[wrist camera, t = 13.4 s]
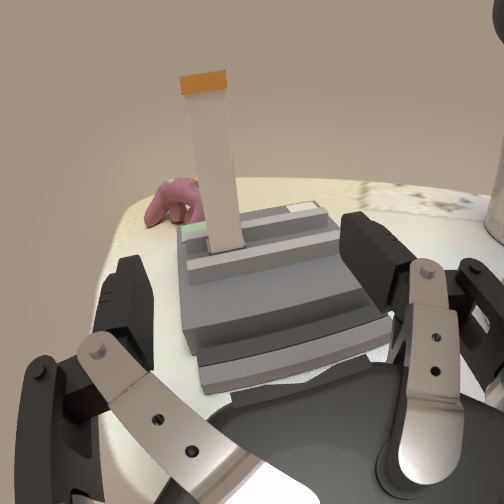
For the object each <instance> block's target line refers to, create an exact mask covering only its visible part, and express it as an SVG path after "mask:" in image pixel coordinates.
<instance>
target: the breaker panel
mask: <svg viewBox="0 0 504 504" xmlns="http://www.w3.org/2000/svg"><path fill="white" fill-rule="evenodd" d="M240 222H241V230H242V236H243V238H244V241H245V243H246V248H247V249H242V250H237V251H232V252H228V253H223V254H218V255H213V256H209V253H208V248H207V242H206V239H209V237H208V232H207V227H206V221H200V222H195V223H190V224H186V225H181V226H177V251H178V274H179V291H180V306H181V319H182V331H183V333H184V336H185V338H186V341H187V343H188V345H189V348H190V350H191V353H192V355H193V356H195V355H197V354H196V350H199V349H204V348H209V347H214V346H219V345H224V344H229V343H233V342H238V341H242V340H247V339H251V338H255V337H259V336H264V335H268V334H272V333H276V332H280V331H284V330H288V329H291V328H295V327H299V326H303V325H306V324H310V323H314V322H317V321H321V320H324V319H328V318H331V317H334V316H338V315H341V314H344V313H348V312H351V311H354V310H357V309H360V308H364V307H367V306H370V305H373V304H374V303H373V301H372V300H371V298H370V297H369V296H368V294H367V293H366V292H365V290H364V289H363V287H362V286H361V285H360V283H359V282H358V281H357V279H356V278H355V277H354V275H353V274H352V273H351V271H350V270H349V269H348V267H347V266H346V265H345V263H344V262H343V261H342V259H341V256H340V253H339V239H340V228H339V227H338V226H337V224H336V223H335V222H334V221H333V220H332V219H331V218H330V217H329V216H328V212H327V211H326V210H325V209H324V208H323V207H320V206H319V205H318V204H317V203H316V202H315V201H309V202H303V203H297V204H291V205H285V206H279V207H274V208H268V209H263V210H257V211H252V212H246V213H241V214H240Z"/></svg>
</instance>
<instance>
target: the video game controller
mask: <svg viewBox="0 0 504 504" xmlns="http://www.w3.org/2000/svg"><path fill="white" fill-rule="evenodd" d="M185 204H186V205H188V206H190V207H191V208H190V209H188V211H187V210H186V206H185ZM168 210H169V215H170V219H171V220H172V221H173V222H183V221H184V220H185V224H190V223H195V222H200V221H205V216H204V211H203V205H202V200H201V195H200V189H199V183H198V181H197V180H194V179H189V178H177V179H171V180H169V181H167V180H164V182H163V185H161V186H160V187H159V188H158V190H157V192H156V194H155V196H154V198H153V200H152V202H151V203H150V205H149V207H148V208H147V210H146V212H145V216H144V222H145V224H146V226H148V227H152V226H154V225H156V224H157V223H158V222H159V221H160V220H161V219H162V218H163V217H164V215H165V214H166V213H167V211H168Z"/></svg>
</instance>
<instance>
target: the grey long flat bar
mask: <svg viewBox="0 0 504 504" xmlns="http://www.w3.org/2000/svg"><path fill="white" fill-rule="evenodd" d="M392 322H393V320H392V319H391V317H390V316H388V313H384V314H381V312H380V311H379V310H378V308H377V307H376V305H375V304H373V305H370V306H367V307H364V308H360V309H357V310H354V311H351V312H348V313H344V314H341V315H338V316H334V317H331V318H328V319H324V320H321V321H317V322H314V323H310V324H306V325H303V326H299V327H295V328H291V329H288V330H284V331H280V332H276V333H272V334H268V335H264V336H259V337H255V338H251V339H247V340H242V341H238V342H233V343H229V344H224V345H219V346H214V347H209V348H204V349H199V350H196V354H197V361H198V367H199V375H200V381H201V386H202V388H203V390H204V393H205V395H210V394H215V393H220V392H225V391H230V390H235V389H240V388H244V387H248V386H253V385H257V384H261V383H265V382H269V381H273V380H277V379H281V378H284V377H288V376H292V375H295V374H299V373H302V372H306V371H309V370H312V369H315V368H319V367H322V366H325V365H328V364H331V363H334V362H337V361H340V360H343V359H346V358H349V357H352V356H355V355H357V354H360V353H363V352H366V351H368V350H371V349H374V348H376V347H379V346H381V345H384V344H386V343H389V342H390V338H391V330H392Z"/></svg>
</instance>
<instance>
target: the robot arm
mask: <svg viewBox="0 0 504 504" xmlns="http://www.w3.org/2000/svg"><path fill="white" fill-rule="evenodd" d="M493 24H494V28H495V31H496V33H497V35H498V37H499V39H500V40H501V41H502V42H503V44H504V0H495V1H494V5H493ZM485 226H486V228H487V230H488V231H489V232H490V234H491V235H492V236H493V237H494V238H496V239H497V240H498V241H499V242H501V243H502V244H504V137H503V144H502V149H501V155H500V161H499V166H498V171H497V176H496V180H495V184H494V188H493V193H492V196H491V200H490V204H489V207H488V211H487V214H486V218H485ZM339 253H340V256H341V259H342V261H343V262H344V263H345V265H346V266H347V267H348V269H349V270H350V271H351V273H352V274H353V275H354V277H355V278H356V279H357V281H358V282H359V283H360V285H361V286H362V287H363V289H364V290H365V292H366V293H367V294H368V296H369V297H370V298H371V300H372V301H373V303H374V304H375V305H376V307H377V308H378V310H379V311H380V312H381V314H384V313H387V312H390V311H393V312H394V313H395V315H394V317H393V322H392V330H391V338H390V345H389V351H388V357H387V361H386V363H385V362H370V361H369V359H368V357H367V355H366V354H364V355H361V356H358V357H356V358H353V359H350V360H347V361H344V362H341V363H338V364H336V365H334V366H332V367H331V368H329V369H328V370H326V371H324V372H323V373H321V374H319V375H318V376H316V377H314V378H313V379H311V380H309V381H307V382H305V383H296V384H275V385H263V386H259V387H255V388H250V389H246V390H241V391H237V392H232V393H230V395H231V399H232V403H229V404H227V405H225V406H224V407H222V408H220V409H219V410H217V411H216V412H215V413H213V414H212V415H211V416H210V417H209V418H208V419H207V420H204V419H203V418H202V417H201V416H199V415H198V414H197V413H196V412H195V411H194V410H192V409H191V408H190V407H189V406H188V405H187V404H185V403H184V402H183V401H182V400H181V399H180V398H179V397H178V396H176V395H175V394H174V393H173V392H172V391H171V390H170V389H169V388H168V387H167V386H166V385H164V384H163V383H162V382H161V381H160V380H159V379H158V378H157V377H156V376H155V375H154V374H153V373H152V372H150V371H151V370H154V354H153V320H154V297H153V291H152V287H151V284H150V282H149V279H148V277H147V274H146V271H145V269H144V266H143V263H142V261H141V258H140V256H139V255H133V256H129V257H124V258H120V259H119V261H118V266H117V270H116V273H113V274H109V276H108V277H107V278H106V280H105V281H104V283H103V284H102V289H101V293H100V295H101V296H100V297H99V302H98V303H99V304H98V306H97V311H96V316H95V321H94V326H93V331H92V334H90V335H89V336H87V337H86V338H85V339H84V340H83V341H82V342H81V344H80V345H79V348H78V351H77V355H75V356H73V357H71V358H69V359H66V360H64V361H62V362H60V363H57V362H56V361H55V360H54V359H53V358H52V357H50V356H47V355H43V356H40V357H38V358H36V359H34V360H33V361H32V362H31V363H30V365H29V366H28V367H27V369H26V372H25V376H24V381H23V387H22V392H21V399H20V406H19V413H18V421H17V431H16V445H15V466H14V469H15V470H14V487H15V504H106V503H105V499H104V492H103V484H102V475H101V463H100V450H99V429H98V415H99V414H102V413H104V412H106V411H109V410H111V411H112V412H113V413H114V414H115V416H116V417H117V418H118V419H119V421H120V422H121V423H122V424H123V425H124V427H125V428H126V429H127V430H128V431H129V433H130V434H131V435H132V436H133V437H134V438H135V439H136V441H137V442H138V443H139V444H140V445H141V446H142V447H143V448H144V449H145V451H146V452H147V453H148V454H149V455H150V456H151V457H152V458H153V459H154V460H155V461H156V462H157V463H158V464H159V465H160V466H161V467H162V468H163V469H164V470H165V471H166V472H167V473H168V474H169V475H170V476H171V477H170V479H169V480H168V482H167V483H166V485H165V487H164V488H163V490H162V491H161V493H160V495H159V496H158V498H157V499H156V501H155V503H154V504H504V285H503V284H502V283H501V282H500V281H499V280H498V278H497V277H496V276H495V275H494V274H493V273H492V272H491V271H490V270H489V269H488V268H487V267H486V266H485V265H484V264H483V263H482V262H480V261H478V260H476V259H473V258H465V259H463V260H461V262H460V265H459V267H458V270H444V269H443V268H442V267H441V266H440V265H439V264H438V263H436V262H435V261H433V260H430V259H425V258H419V259H417V258H416V257H415V256H414V255H413V254H412V253H411V252H410V251H409V250H408V249H407V248H406V247H405V246H404V245H403V244H402V243H401V242H400V241H398V239H397V238H396V237H395V236H394V235H392V233H391V232H390V231H389V230H388V229H387V228H385V227H384V226H383V225H381V224H379V223H377V222H375V221H371V220H370V219H369V218H368V217H367V216H366V215H365V214H364V213H363V212H361V211H358V212H353V213H347V214H343V216H342V218H341V228H340V239H339ZM476 305H477V306H478V307H479V308H480V309H481V311H482V312H483V313H484V314H485V316H486V317H487V318H488V320H489V323H490V330H489V332H488V334H486V332H485V331H484V329H483V328H482V327H481V325H480V324H479V323H478V321H477V320H476V319H475V317H474V316H473V315H472V312H473V310H474V308H475V306H476ZM460 354H461V355H462V357H463V358H464V360H465V361H466V363H467V365H468V366H469V368H470V369H471V371H472V373H473V374H474V376H475V378H476V379H477V381H478V383H479V384H480V386H481V388H482V389H483V391H484V393H485V400H486V401H485V402H484V403H483V402H480V401H478V400H476V399H473V398H471V397H469V396H466V395H464V394H462V393H460ZM147 371H148V372H147Z"/></svg>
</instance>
